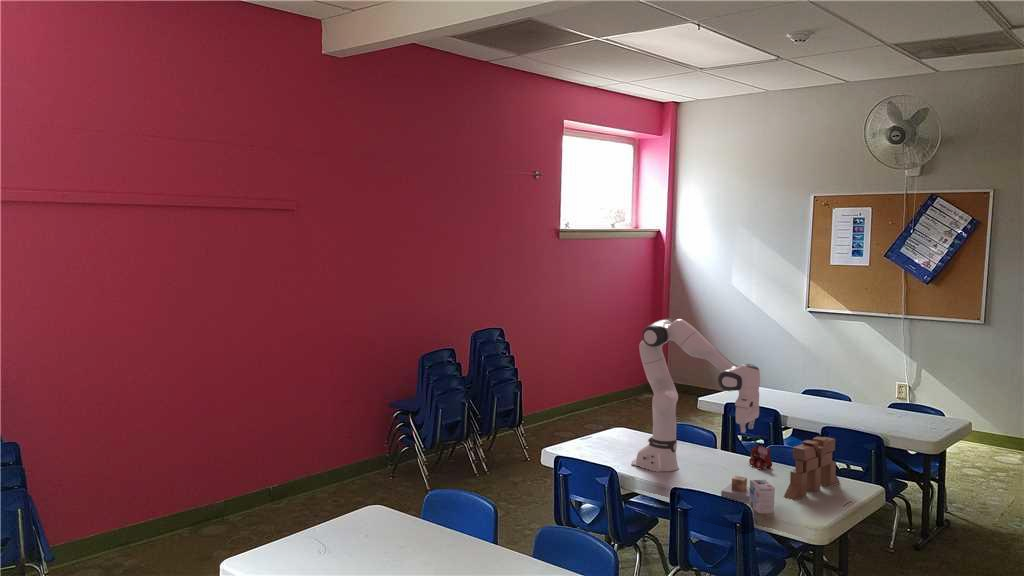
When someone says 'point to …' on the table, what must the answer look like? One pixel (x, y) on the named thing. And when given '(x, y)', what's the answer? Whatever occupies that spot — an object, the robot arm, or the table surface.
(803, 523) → the table surface
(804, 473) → the wooden robot
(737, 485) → the walnut cube
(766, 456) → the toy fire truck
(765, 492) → the light bulb box
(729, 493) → the stand
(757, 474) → the table surface
